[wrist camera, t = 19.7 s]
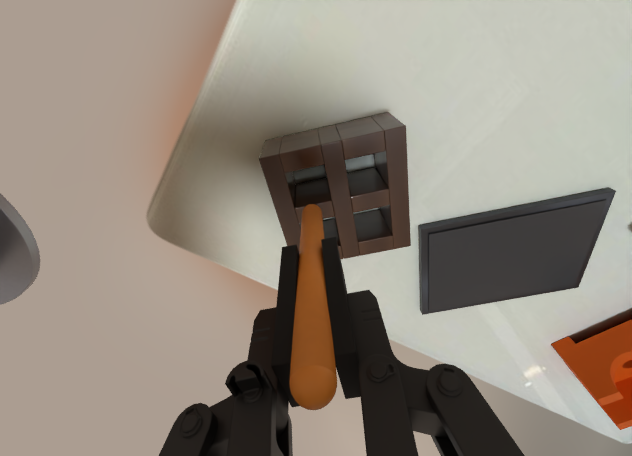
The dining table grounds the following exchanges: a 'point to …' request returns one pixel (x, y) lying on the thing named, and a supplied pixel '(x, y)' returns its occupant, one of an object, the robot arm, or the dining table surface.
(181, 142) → the dining table surface
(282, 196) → the pen stand
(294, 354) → the stylus
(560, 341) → the orange slotted block
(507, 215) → the tablet
